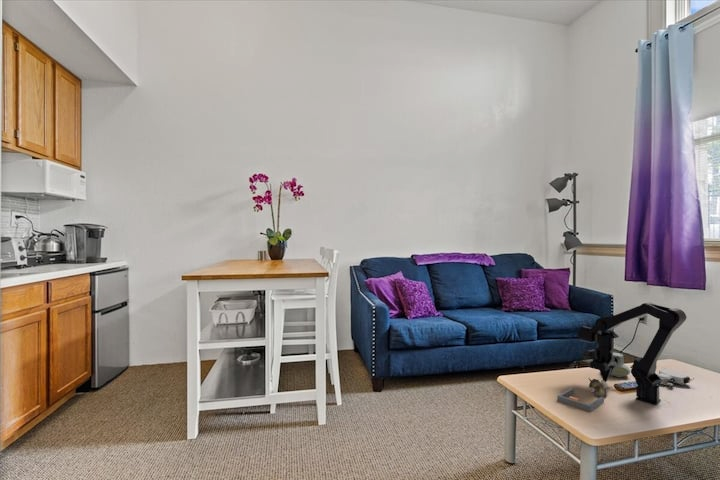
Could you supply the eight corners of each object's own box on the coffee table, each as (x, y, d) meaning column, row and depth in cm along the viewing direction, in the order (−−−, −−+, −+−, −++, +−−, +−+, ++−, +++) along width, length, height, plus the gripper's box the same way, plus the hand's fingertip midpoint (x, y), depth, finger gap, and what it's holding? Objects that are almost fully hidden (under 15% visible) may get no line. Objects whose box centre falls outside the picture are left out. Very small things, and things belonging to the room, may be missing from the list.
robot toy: (672, 392, 157) (696, 386, 161) (671, 381, 157) (696, 375, 161) (643, 381, 169) (666, 376, 173) (642, 372, 169) (666, 366, 173)
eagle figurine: (582, 385, 159) (584, 388, 151) (593, 372, 158) (595, 375, 150) (600, 398, 155) (602, 402, 147) (611, 385, 154) (614, 389, 146)
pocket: (604, 402, 144) (604, 395, 144) (590, 412, 136) (590, 404, 136) (571, 392, 153) (571, 385, 153) (557, 400, 145) (557, 393, 145)
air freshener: (606, 377, 171) (606, 355, 171) (599, 371, 180) (599, 350, 180) (633, 379, 169) (633, 357, 169) (624, 373, 177) (624, 352, 177)
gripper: (593, 338, 172) (592, 371, 172) (576, 345, 161) (576, 380, 161) (620, 344, 164) (620, 378, 164) (605, 351, 152) (604, 389, 152)
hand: (604, 381), depth 160 cm, fingers closed
